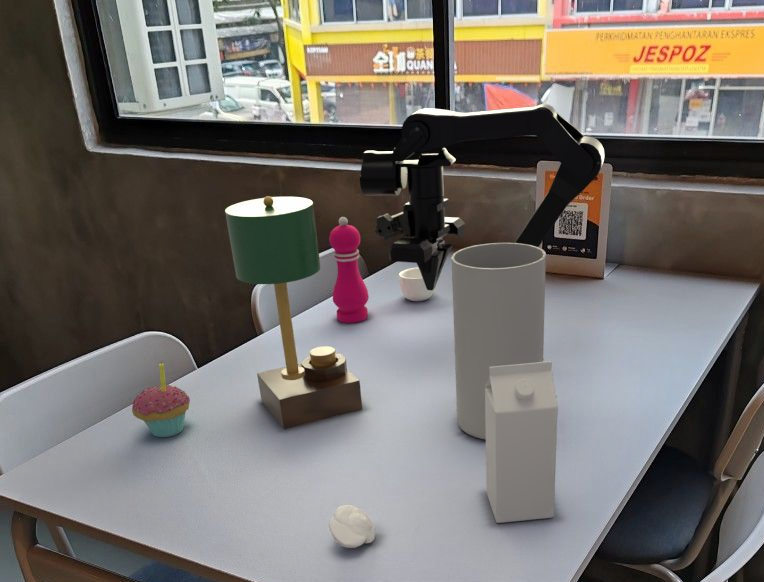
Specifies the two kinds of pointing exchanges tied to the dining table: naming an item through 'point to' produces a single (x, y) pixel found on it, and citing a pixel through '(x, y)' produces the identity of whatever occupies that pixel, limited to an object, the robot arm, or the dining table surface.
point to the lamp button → (322, 356)
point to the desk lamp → (275, 254)
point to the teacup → (413, 285)
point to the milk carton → (521, 441)
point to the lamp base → (310, 393)
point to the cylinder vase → (494, 319)
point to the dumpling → (351, 527)
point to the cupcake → (162, 408)
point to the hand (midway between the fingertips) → (430, 289)
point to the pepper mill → (348, 274)
